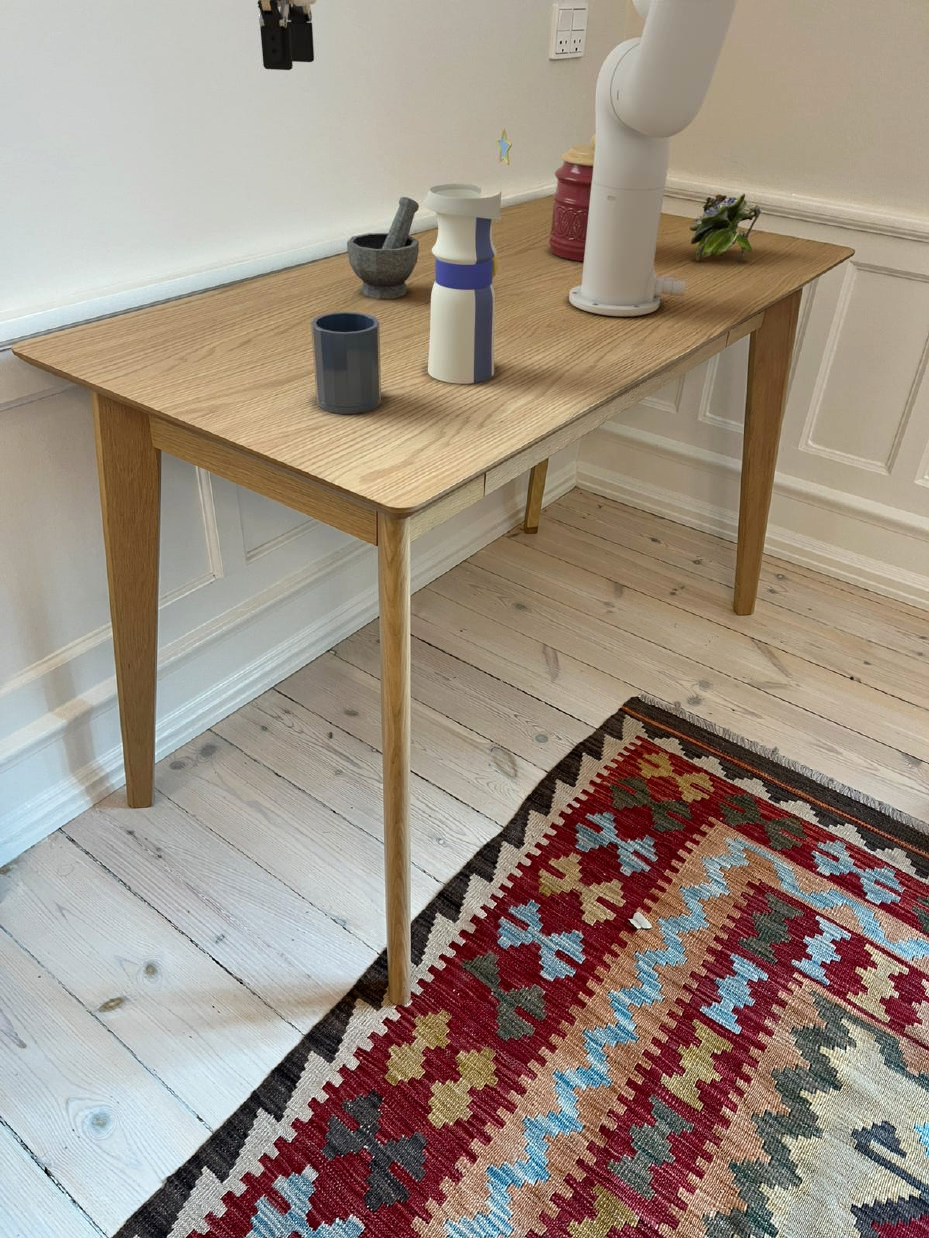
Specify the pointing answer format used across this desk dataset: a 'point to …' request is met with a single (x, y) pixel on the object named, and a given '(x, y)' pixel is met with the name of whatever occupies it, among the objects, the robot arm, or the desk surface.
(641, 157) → the robot arm
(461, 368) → the water bottle
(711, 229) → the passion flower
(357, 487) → the desk surface
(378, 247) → the mortar and pestle
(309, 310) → the desk surface
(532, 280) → the desk surface
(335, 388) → the blue cup
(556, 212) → the kitchen canister
